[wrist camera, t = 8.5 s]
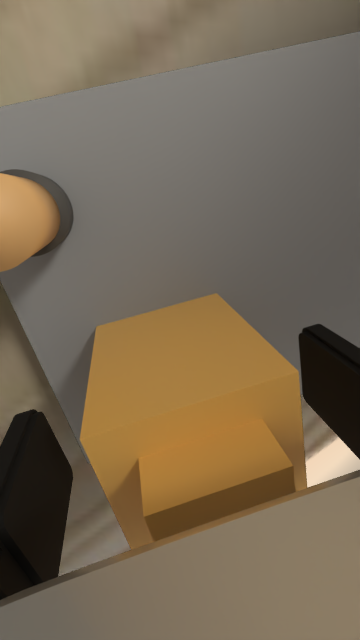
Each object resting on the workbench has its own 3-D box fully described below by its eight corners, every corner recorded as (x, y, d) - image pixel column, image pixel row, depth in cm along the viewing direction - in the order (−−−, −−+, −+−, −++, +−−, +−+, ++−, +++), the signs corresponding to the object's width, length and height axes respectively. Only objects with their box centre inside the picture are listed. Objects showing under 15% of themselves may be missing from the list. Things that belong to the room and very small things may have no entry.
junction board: (427, 30, 12) (692, -112, 6) (402, 342, 18) (532, 408, 12) (-51, 132, 10) (-239, 59, 5) (90, 440, 16) (77, 568, 10)
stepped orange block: (216, 293, 13) (340, 410, 6) (234, 390, 15) (341, 565, 8) (96, 326, 12) (70, 498, 5) (131, 422, 14) (146, 639, 7)
